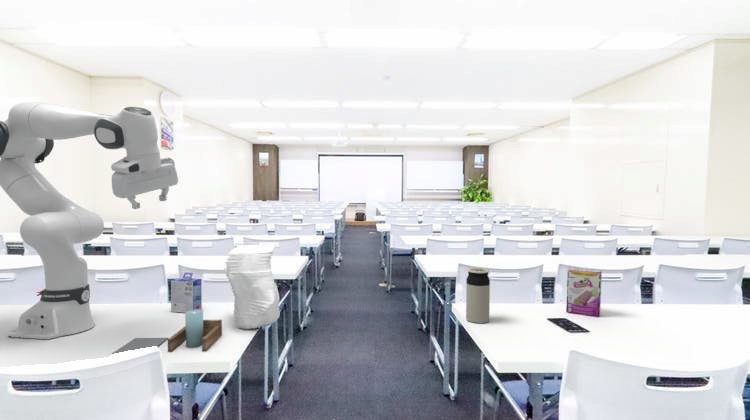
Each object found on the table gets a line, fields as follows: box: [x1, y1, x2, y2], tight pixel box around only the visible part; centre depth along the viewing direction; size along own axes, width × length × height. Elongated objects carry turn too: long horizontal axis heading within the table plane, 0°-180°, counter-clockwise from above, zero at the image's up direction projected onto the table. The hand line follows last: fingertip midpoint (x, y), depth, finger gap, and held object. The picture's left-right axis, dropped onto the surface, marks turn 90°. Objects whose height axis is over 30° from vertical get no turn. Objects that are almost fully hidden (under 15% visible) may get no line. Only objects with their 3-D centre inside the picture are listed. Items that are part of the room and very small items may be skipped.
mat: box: [110, 337, 169, 354], centre depth 117 cm, size 10×14×1 cm
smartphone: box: [546, 317, 591, 334], centre depth 138 cm, size 8×1×15 cm
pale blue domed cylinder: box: [184, 308, 204, 349], centre depth 121 cm, size 5×7×10 cm
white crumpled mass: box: [223, 243, 281, 330], centre depth 140 cm, size 21×27×26 cm
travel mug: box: [465, 267, 491, 324], centre depth 143 cm, size 8×8×18 cm
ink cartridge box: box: [170, 271, 203, 314], centre depth 154 cm, size 10×6×14 cm, turn 78°
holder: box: [167, 319, 223, 353], centre depth 121 cm, size 11×13×5 cm
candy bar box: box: [565, 267, 603, 318], centre depth 151 cm, size 11×5×16 cm, turn 58°
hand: (150, 204), depth 128 cm, fingers open, 8 cm apart
